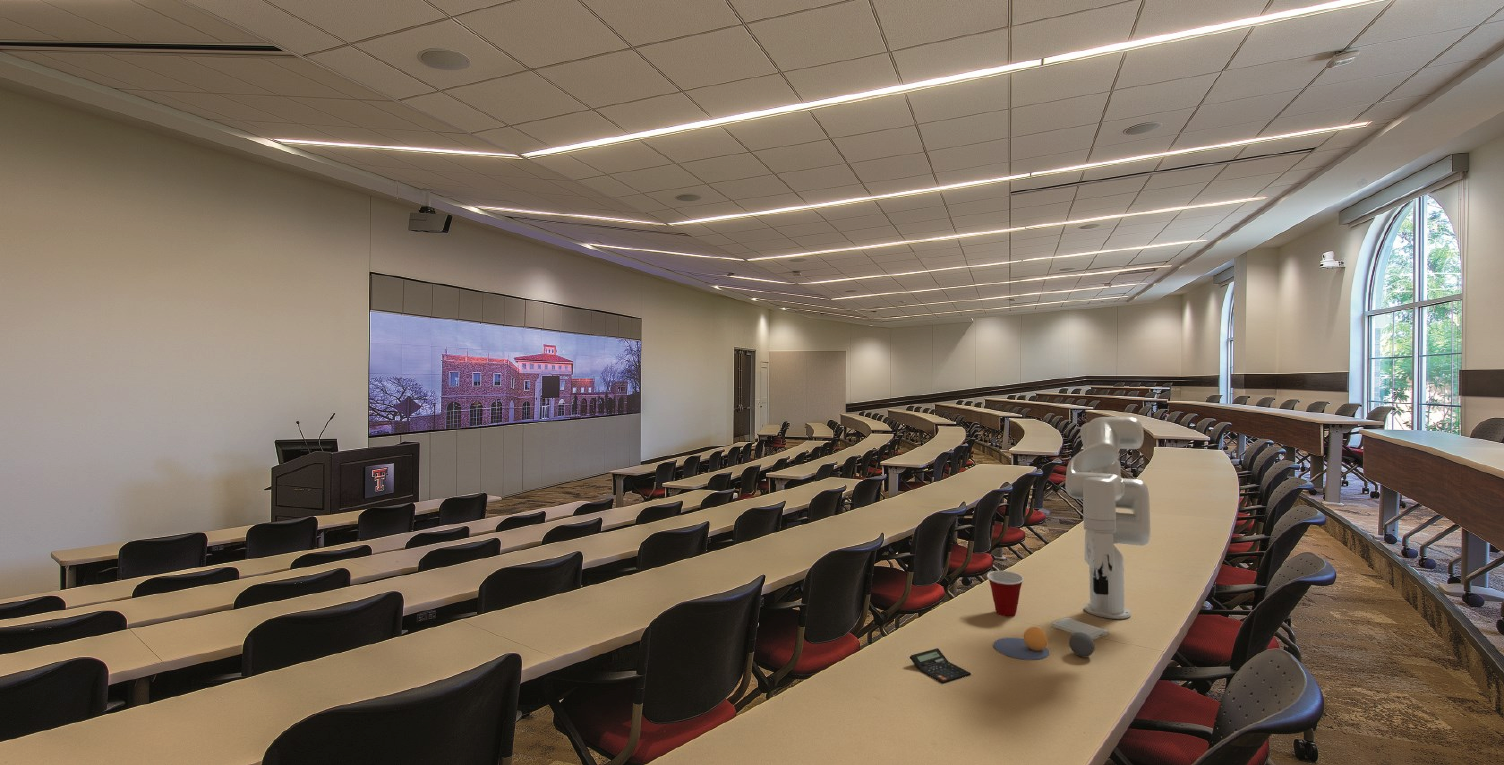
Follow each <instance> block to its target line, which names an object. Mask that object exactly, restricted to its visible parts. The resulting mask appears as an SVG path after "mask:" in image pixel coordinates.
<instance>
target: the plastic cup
mask: <svg viewBox="0 0 1504 765" xmlns="http://www.w3.org/2000/svg"><path fill="white" fill-rule="evenodd" d="M986 577H987V579H988V581H989V585H990V588H991V594H992V599H993V604H994V609H995V612H996V614H997V615H998V616H1002V617H1015V616H1016V614H1017V612H1018V604H1019V599H1020V592H1021V588H1022V584H1023V582H1024V579H1025V578H1024V576H1023V575H1022V574H1020V573H1016V572H1014V571H1009V570H995V571H990V572H988V573H987V575H986Z"/></svg>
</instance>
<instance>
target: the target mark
mask: <svg viewBox="0 0 1504 765" xmlns="http://www.w3.org/2000/svg"><path fill="white" fill-rule="evenodd" d="M993 648H994V649H995V650H996V651H997V652H998V651H999V652H998V653H1000V654H1002V655H1004V656H1007V657H1010V658H1013V659H1017V658H1019V660H1026V661H1037V660H1043V659H1045V658H1048V657H1049V655H1050V651H1049V650H1050V649H1048V647H1046V648H1045V649H1043V650H1041V651H1034V650H1032V649H1030V648H1029V647H1028V646H1027V645H1026V644H1025V642H1024V638H1020V637H1004V638H999V639H996V640H995V641H993Z"/></svg>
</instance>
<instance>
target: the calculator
mask: <svg viewBox="0 0 1504 765" xmlns="http://www.w3.org/2000/svg"><path fill="white" fill-rule="evenodd" d="M909 659H910V660H911V661H912V664H914V666H915V667H916V668H917V670H920V671H919V672H921V673H923V674H925V675H926V674H927V675H926V676H928V677H930V676H931V677H930V678H932V677H933V678H934V679H933V678H932V679H933V680H935V679H936V681H937V680H938V681H937V682H939V683H941V684H946V683H951V682H953V681H957V680H960V679H963V678H966V677H969V676H971V675H972V673H971V672H970V671H968V670H966V669H965V668H962V667H960V666H959V665H956V664H954V663H952V662H950V661H949V660H948V659H947V657H946V656H945V654H944V653H943V652H942V651H941V650H940V649H939V647H937V648H933V649H930V650H926V651H923V652H917V653H914V654H911V655H910V656H909ZM965 676H966V677H965ZM962 677H963V678H962Z"/></svg>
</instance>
